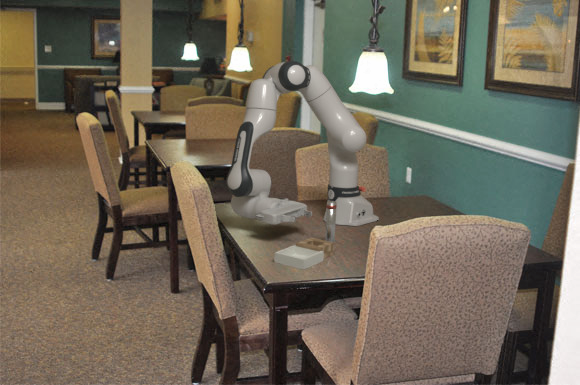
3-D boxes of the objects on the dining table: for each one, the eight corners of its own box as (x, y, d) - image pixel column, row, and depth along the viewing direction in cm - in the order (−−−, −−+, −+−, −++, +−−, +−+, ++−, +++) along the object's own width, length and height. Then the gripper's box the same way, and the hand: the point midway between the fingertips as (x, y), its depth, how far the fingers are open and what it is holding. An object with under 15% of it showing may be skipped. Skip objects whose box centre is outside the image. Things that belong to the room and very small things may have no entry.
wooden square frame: (310, 249, 219) (311, 237, 218) (333, 254, 214) (334, 242, 213) (295, 255, 212) (295, 243, 211) (318, 261, 207) (319, 248, 206)
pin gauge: (330, 246, 222) (332, 200, 219) (336, 249, 220) (338, 202, 216) (322, 248, 221) (324, 201, 217) (328, 250, 218) (330, 203, 215)
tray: (294, 254, 213) (294, 244, 212) (323, 261, 207) (323, 251, 206) (274, 262, 204) (274, 252, 204) (303, 269, 198) (304, 259, 198)
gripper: (252, 206, 223) (285, 213, 215) (287, 197, 239) (319, 203, 232) (252, 224, 224) (285, 232, 217) (287, 213, 241) (318, 220, 233)
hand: (303, 217), depth 224 cm, fingers open, 8 cm apart
